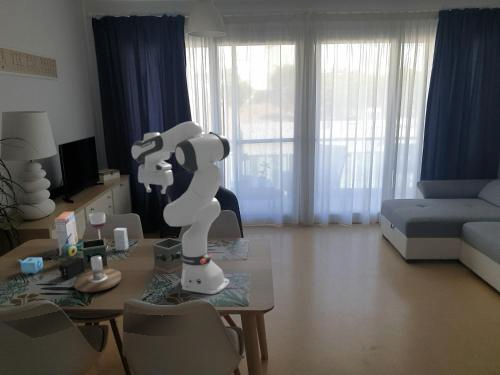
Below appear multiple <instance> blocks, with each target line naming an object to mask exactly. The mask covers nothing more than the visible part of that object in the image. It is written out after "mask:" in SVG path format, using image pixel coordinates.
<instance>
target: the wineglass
mask: <svg viewBox="0 0 500 375" xmlns="http://www.w3.org/2000/svg"><path fill="white" fill-rule="evenodd" d="M88 218H89V222H90V226H92V228H94V229H97V231H98V232H97V233H98V240H99V239H101V231H100V229H101V228H103V227H104V226H105V224H106V213H105V212H103V211H98V212H96V211H95V212H91V213H89V214H88ZM108 247H109V246H108V245H107V248H108Z"/></svg>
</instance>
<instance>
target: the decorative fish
mask: <svg viewBox="0 0 500 375" xmlns="http://www.w3.org/2000/svg"><path fill="white" fill-rule="evenodd" d="M70 236H71V234H70V235H69V237H70ZM69 237H68V238H67V240H66V244H65V245H64V246H63V247H62V249H61V253H60V252H59V254H58V256H59V257H63V258H64V259H66V260H68V261H70V260H71V258H73V256H75V255H76V253H77V251H80V250H81V249H82V246H83V244H84V242H82V241H81V240H78V242H77V243H76V244H75V245H72V244H69V242H68V239H69ZM68 261H67V262H68Z"/></svg>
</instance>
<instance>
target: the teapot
mask: <svg viewBox="0 0 500 375" xmlns="http://www.w3.org/2000/svg"><path fill="white" fill-rule="evenodd" d="M17 261H18V262H19V263H20V269H21V274H25V275H29V274H32V275H36V274H37V273H39V272H41V270H43V269H44V261H43V257H40V256H39V257H27V258H26V259H24V260H22V259H17Z"/></svg>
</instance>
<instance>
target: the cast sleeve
mask: <svg viewBox="0 0 500 375" xmlns="http://www.w3.org/2000/svg"><path fill="white" fill-rule="evenodd" d="M90 264H91V271H92V273H93V280H101V279H103V278H104V274H103V269H104V266H103V259H102V256H101V255H94V256H91V257H90Z"/></svg>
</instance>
